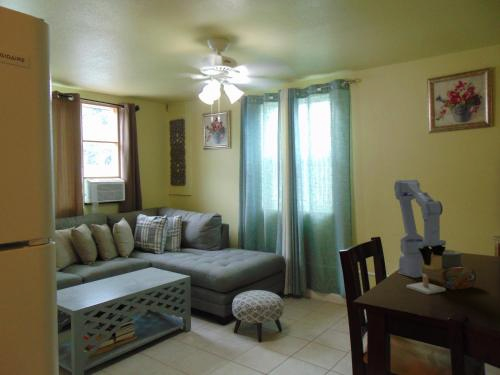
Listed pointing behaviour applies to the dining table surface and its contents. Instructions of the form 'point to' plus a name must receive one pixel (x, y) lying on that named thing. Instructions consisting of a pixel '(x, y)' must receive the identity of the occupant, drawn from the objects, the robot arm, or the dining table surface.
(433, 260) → the yellow-orange cube block
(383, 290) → the dining table surface
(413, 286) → the base plate
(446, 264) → the can
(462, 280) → the tin
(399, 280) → the dining table surface
